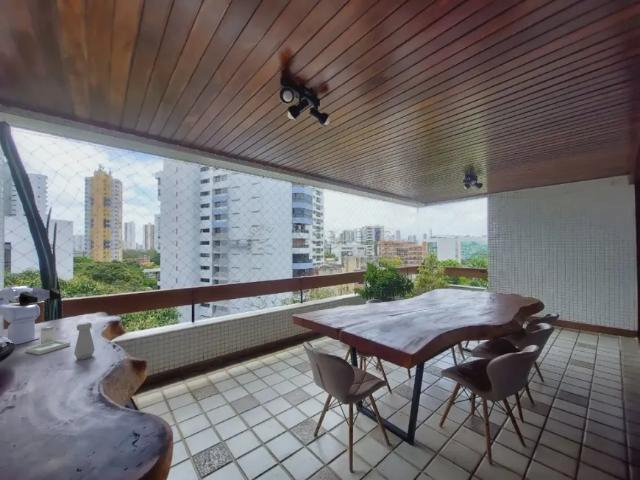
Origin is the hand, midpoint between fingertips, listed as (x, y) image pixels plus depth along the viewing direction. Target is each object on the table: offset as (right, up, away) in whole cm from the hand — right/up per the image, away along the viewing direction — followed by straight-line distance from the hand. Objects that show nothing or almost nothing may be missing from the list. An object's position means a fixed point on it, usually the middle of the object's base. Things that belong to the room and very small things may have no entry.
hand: (48, 298), depth 118 cm
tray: (+4, -20, -4) cm, 21 cm away
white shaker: (-3, -20, +3) cm, 21 cm away
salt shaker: (+28, -20, -14) cm, 37 cm away
